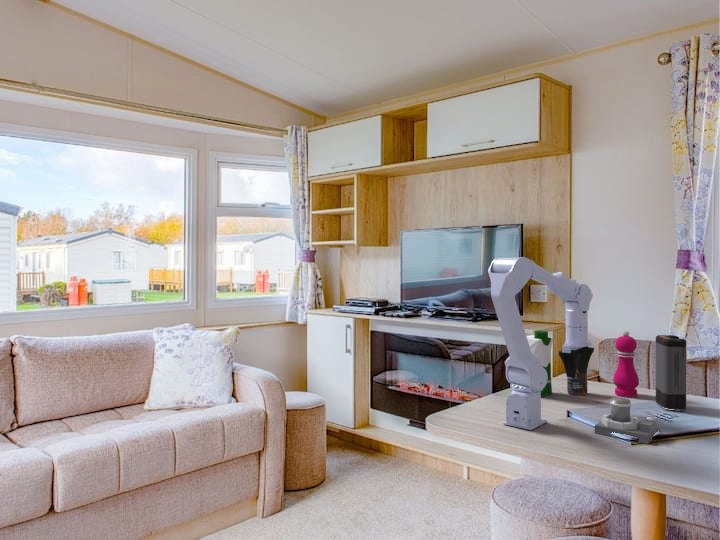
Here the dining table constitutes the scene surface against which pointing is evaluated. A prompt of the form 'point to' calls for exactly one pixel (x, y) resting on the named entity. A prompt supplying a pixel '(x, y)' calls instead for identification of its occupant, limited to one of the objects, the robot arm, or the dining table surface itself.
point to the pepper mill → (626, 367)
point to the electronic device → (671, 372)
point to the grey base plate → (629, 427)
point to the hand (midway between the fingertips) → (576, 375)
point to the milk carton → (542, 354)
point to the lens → (620, 410)
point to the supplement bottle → (577, 384)
